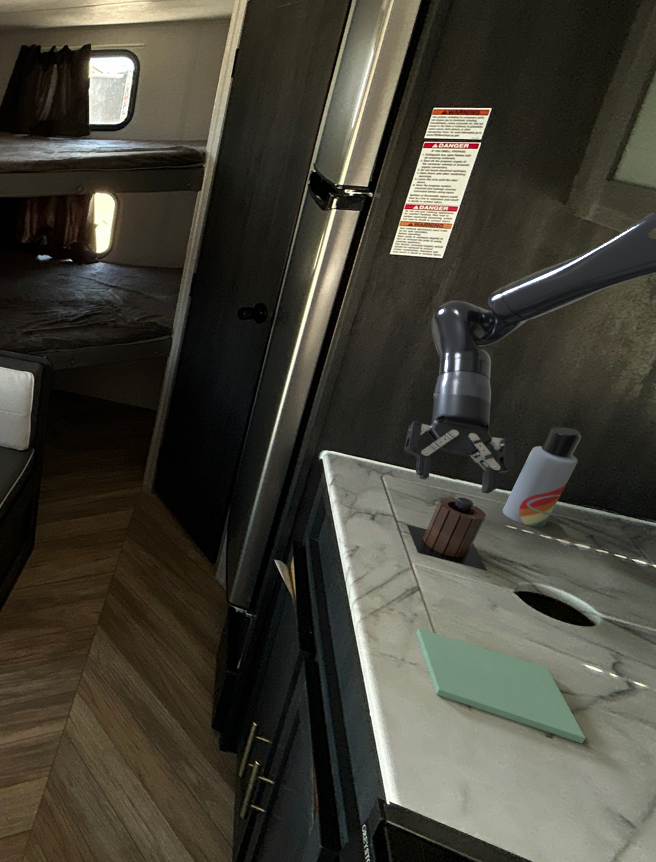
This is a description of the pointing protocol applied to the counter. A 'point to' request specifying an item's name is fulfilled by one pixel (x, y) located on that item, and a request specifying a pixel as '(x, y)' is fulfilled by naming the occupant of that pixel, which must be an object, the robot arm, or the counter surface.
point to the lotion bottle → (543, 478)
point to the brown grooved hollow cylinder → (453, 529)
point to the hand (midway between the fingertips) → (455, 485)
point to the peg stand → (421, 547)
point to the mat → (498, 684)
